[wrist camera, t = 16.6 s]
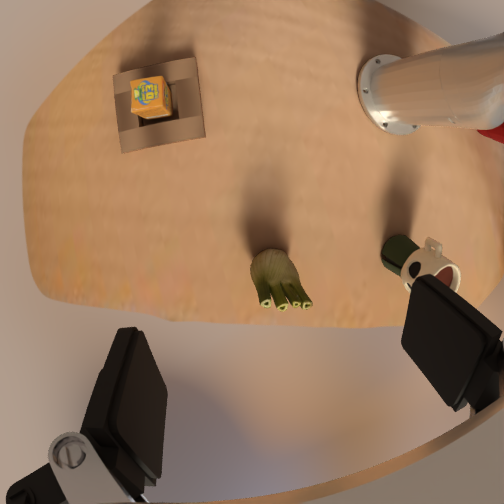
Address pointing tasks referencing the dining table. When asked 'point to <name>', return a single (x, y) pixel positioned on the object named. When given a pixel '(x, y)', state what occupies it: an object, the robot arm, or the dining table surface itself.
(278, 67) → the dining table surface
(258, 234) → the dining table surface
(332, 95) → the dining table surface
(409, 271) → the character mug
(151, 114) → the supplement box
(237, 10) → the dining table surface
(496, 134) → the plastic cup
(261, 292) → the fennel bulb
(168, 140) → the square wooden frame
